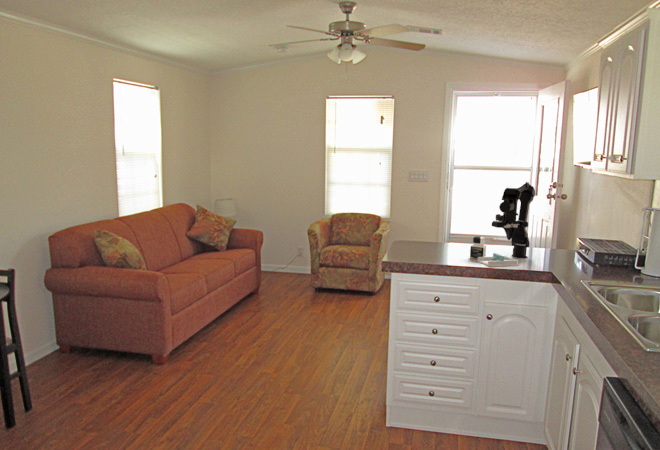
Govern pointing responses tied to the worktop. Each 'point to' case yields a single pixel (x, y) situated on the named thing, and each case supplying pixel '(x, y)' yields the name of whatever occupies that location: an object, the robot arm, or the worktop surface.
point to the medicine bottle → (478, 248)
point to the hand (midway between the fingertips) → (508, 239)
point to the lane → (491, 262)
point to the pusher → (496, 257)
